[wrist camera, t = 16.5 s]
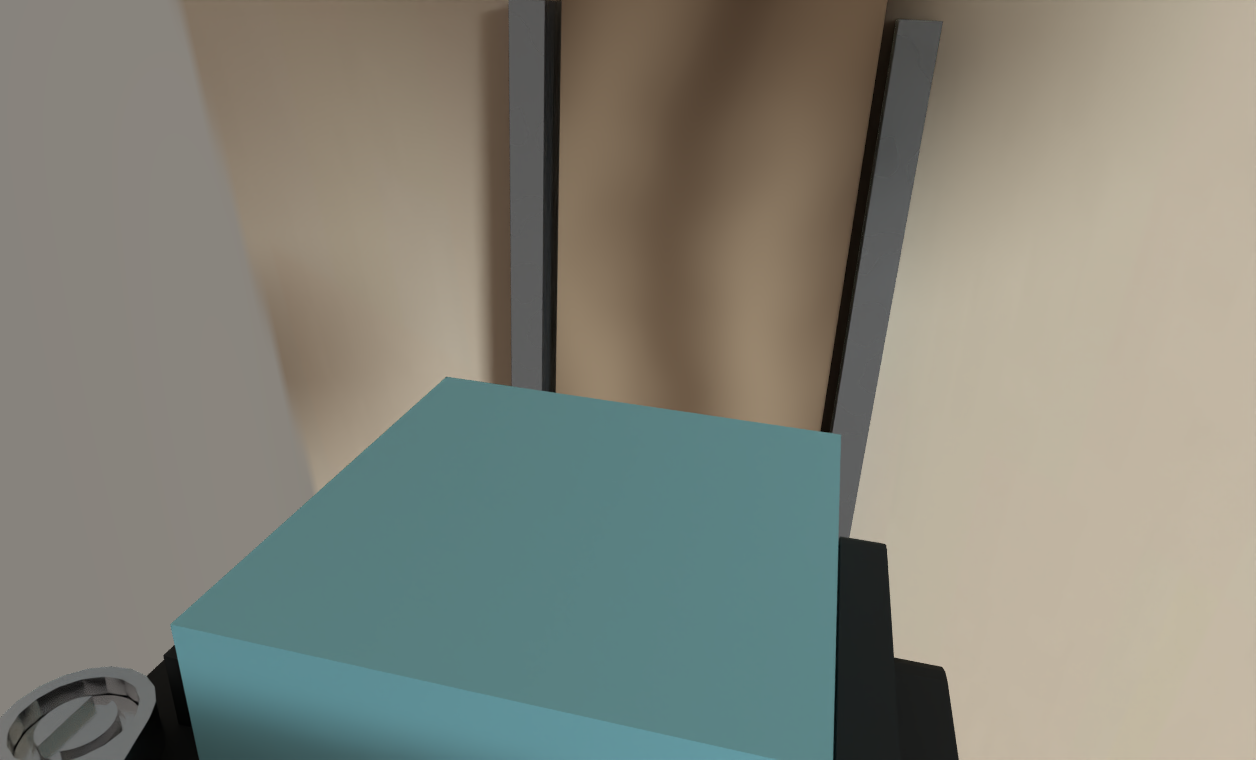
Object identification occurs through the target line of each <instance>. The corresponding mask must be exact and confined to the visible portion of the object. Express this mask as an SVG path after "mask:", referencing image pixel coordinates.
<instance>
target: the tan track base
mask: <svg viewBox="0 0 1256 760" xmlns="http://www.w3.org/2000/svg"><path fill="white" fill-rule="evenodd" d="M887 1H888V0H562V9H561V77H560V144H559V211H558V279H557V346H556V393H560V394H567V395H574V396H581V397H588V398H594V399H601V400H608V401H615V402H622V403H628V404H635V405H642V406H649V407H656V408H663V409H669V410H676V411H683V412H690V413H697V414H703V415H710V416H717V417H724V418H731V419H738V420H744V421H751V422H758V423H765V424H772V425H779V426H785V427H792V428H799V429H806V430H813V431H819V432H820V431H821V424H822V418H823V411H824V405H825V398H826V392H827V386H828V379H829V373H830V366H831V360H832V354H833V347H834V341H835V334H836V328H837V321H838V315H839V309H840V302H841V296H842V289H843V283H844V277H845V270H846V264H847V257H848V251H849V245H850V238H851V232H852V225H853V219H854V212H855V206H856V200H857V193H858V187H859V180H860V174H861V168H862V161H863V155H864V148H865V142H866V135H867V129H868V123H869V116H870V110H871V103H872V97H873V91H874V84H875V78H876V71H877V65H878V59H879V52H880V46H881V39H882V33H883V26H884V20H885V14H886V7H887Z"/></svg>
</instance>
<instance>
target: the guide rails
mask: <svg viewBox="0 0 1256 760" xmlns="http://www.w3.org/2000/svg"><path fill="white" fill-rule="evenodd" d="M561 9H562V1H544V0H509V109H510V233H511V356H512V387H519V388H526V389H533V390H540V391H547V392H553V393H556V346H557V279H558V211H559V144H560V77H561ZM942 23H943V21H925V20H906V19H896V23H895V30H894V36H893V42H892V48H891V54H890V61H889V67H888V73H887V79H886V85H885V92H884V98H883V104H882V110H881V117H880V123H879V129H878V135H877V141H876V148H875V154H874V160H873V166H872V172H871V179H870V185H869V191H868V197H867V204H866V210H865V216H864V222H863V228H862V235H861V241H860V247H859V253H858V259H857V266H856V272H855V278H854V284H853V291H852V297H851V303H850V309H849V315H848V322H847V328H846V334H845V340H844V346H843V353H842V359H841V365H840V371H839V378H838V384H837V390H836V396H835V402H834V409H833V415H832V421H831V427H830V433H833V434H840V435H841V455H840V495H839V536H838V541H839V538H840V536H841V537H847V538H849V536H850V530H851V525H852V519H853V514H854V508H855V503H856V497H857V492H858V486H859V481H860V475H861V469H862V464H863V458H864V453H865V447H866V442H867V436H868V431H869V425H870V420H871V414H872V409H873V403H874V398H875V392H876V387H877V381H878V376H879V370H880V365H881V359H882V354H883V348H884V343H885V337H886V332H887V326H888V321H889V315H890V310H891V304H892V299H893V293H894V288H895V282H896V277H897V271H898V266H899V260H900V255H901V249H902V244H903V238H904V233H905V227H906V221H907V216H908V210H909V205H910V199H911V194H912V188H913V183H914V177H915V172H916V166H917V161H918V155H919V150H920V144H921V139H922V133H923V128H924V122H925V117H926V111H927V106H928V100H929V95H930V89H931V84H932V78H933V73H934V67H935V62H936V56H937V51H938V45H939V40H940V34H941V29H942Z"/></svg>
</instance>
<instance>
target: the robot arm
mask: <svg viewBox="0 0 1256 760" xmlns="http://www.w3.org/2000/svg"><path fill="white" fill-rule="evenodd" d="M0 760H199V756H198V752H197V747H196V742H195V737H194V733H193V728H192V723H191V719H190V714H189V709H188V705H187V700H186V695H185V691H184V686H183V681H182V677H181V672H180V667H179V663H178V658H177V653H176V648H175V645H174V646H173V647H172V648H171V649H170V650H169V651H168V652H167V653H165V654H164V660H163V661H162V662H161V663H160V664H159V665H158V666H157V667H156V668H155V669H154V670H153V671H152V672H151V673H150V674H149V675H148V676H145V675H143V674H141V673H139V672H137V671H135V670H133V669H128V668H119V667H112V666H111V667H101V668H91V669H86V670H82V671H79V672H75V673H71V674H67V675H64V676H62V677H59V678H57V679H55V680H53V681H50V682H49V683H46V684H44V685H42V686H39V687H38V688H36V689H35V690H33V691H32V692H30V693H29V694H27V695H26V696H24V697H23V698H21V699H20V700H18V701H17V702H16V703H15V704H14V705H13V706H12V707H11V708H10V709H8V710H7V712H5V714H3V715H2V716H1V717H0ZM833 760H959V759H958V752H957V745H956V738H955V731H954V724H953V717H952V710H951V703H950V696H949V689H948V682H947V677H946V673H945V671H944V669H943V668H942V667H940V666H935V665H929V664H924V663H919V662H914V661H909V660H904V659H899V658H894V652H893V637H892V621H891V606H890V591H889V575H888V560H887V548H886V545H885V544H882V543H876V542H870V541H864V540H859V539H853V538H847V537H841V536H840V538H839V541H838V576H837V616H836V656H835V697H834V737H833Z"/></svg>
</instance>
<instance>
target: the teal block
mask: <svg viewBox="0 0 1256 760" xmlns="http://www.w3.org/2000/svg"><path fill="white" fill-rule="evenodd" d="M840 455H841V435H840V434H833V433H826V432H819V431H813V430H806V429H799V428H792V427H785V426H779V425H772V424H765V423H758V422H751V421H744V420H738V419H731V418H724V417H717V416H710V415H703V414H697V413H690V412H683V411H676V410H669V409H663V408H656V407H649V406H642V405H635V404H628V403H622V402H615V401H608V400H601V399H594V398H588V397H581V396H574V395H567V394H560V393H553V392H547V391H540V390H533V389H526V388H519V387H512V386H506V385H499V384H492V383H485V382H478V381H472V380H465V379H458V378H451V377H446V378H445V379H443V380H442V381H441V382H440V383H439V384H438V385H437V386H436V387H435V388H433V389H432V390H431V391H430V392H429V393H428V394H427V395H426V396H424V397H423V398H422V399H421V400H420V401H419V402H418V403H417V404H416V405H414V406H413V407H412V408H411V409H410V410H409V411H408V412H407V413H406V414H404V415H403V416H402V417H401V418H400V419H399V420H398V421H397V422H396V423H394V424H393V425H392V426H391V427H390V428H389V429H388V430H387V431H385V432H384V433H383V434H382V435H381V436H380V437H379V438H378V439H377V440H375V441H374V442H373V443H372V444H371V445H370V446H369V447H368V448H367V449H365V450H364V451H363V452H362V453H361V454H360V455H359V456H358V457H356V458H355V459H354V460H353V461H352V462H351V463H350V464H349V465H348V466H346V467H345V468H344V469H343V470H342V471H341V472H340V473H339V474H338V475H336V476H335V477H334V478H333V479H332V480H331V481H330V482H329V483H327V484H326V485H325V486H324V487H323V488H322V489H321V490H320V491H319V492H317V493H316V494H315V495H314V496H313V497H312V498H311V499H310V500H309V501H307V502H306V503H305V504H304V505H303V506H302V507H301V508H300V509H299V510H297V511H296V512H295V513H294V514H293V515H292V516H291V517H290V518H288V519H287V520H286V521H285V522H284V523H283V524H282V525H281V526H280V527H278V528H277V529H276V530H275V531H274V532H273V533H272V534H271V535H269V536H268V537H267V538H266V539H265V540H264V541H263V542H262V543H261V544H259V545H258V546H257V547H256V548H255V549H254V550H253V551H252V552H251V553H249V554H248V556H246V557H245V558H244V559H243V560H242V561H241V562H239V563H238V564H237V565H236V566H235V567H234V568H233V569H232V570H230V571H229V572H228V573H227V574H226V575H225V576H224V577H223V578H222V579H221V580H219V581H218V582H217V583H216V584H215V585H214V586H213V587H212V588H211V589H209V590H208V591H207V592H206V593H205V594H204V595H203V596H201V597H200V598H199V599H198V600H197V601H196V602H195V603H194V604H193V605H191V607H189V608H188V609H187V610H186V611H185V612H184V613H183V614H181V615H180V616H179V617H178V618H177V619H176V620H175V621H174V622H172V623H171V630H172V634H173V639H174V644H175V648H176V653H177V658H178V663H179V667H180V672H181V677H182V681H183V686H184V691H185V695H186V700H187V705H188V709H189V714H190V719H191V723H192V728H193V733H194V737H195V742H196V747H197V752H198V756H199V760H833V737H834V697H835V656H836V616H837V576H838V536H839V495H840Z"/></svg>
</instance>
